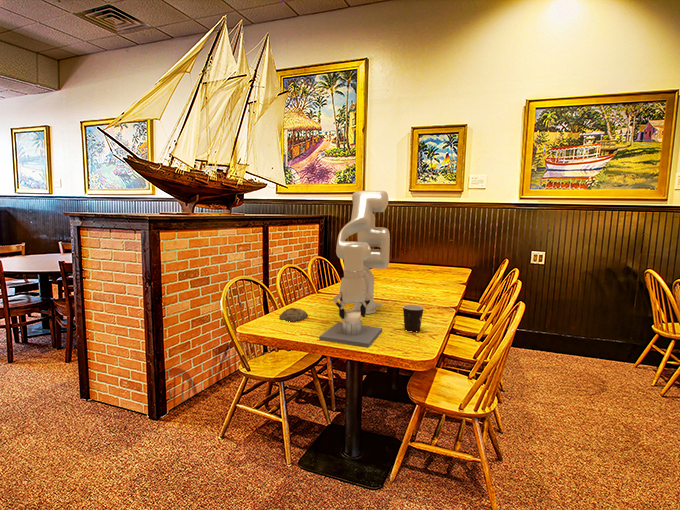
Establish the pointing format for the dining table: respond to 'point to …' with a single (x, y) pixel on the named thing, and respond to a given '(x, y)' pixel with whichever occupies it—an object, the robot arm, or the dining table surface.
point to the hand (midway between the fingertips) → (352, 317)
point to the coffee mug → (412, 317)
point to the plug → (352, 316)
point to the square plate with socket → (351, 334)
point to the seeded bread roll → (293, 315)
